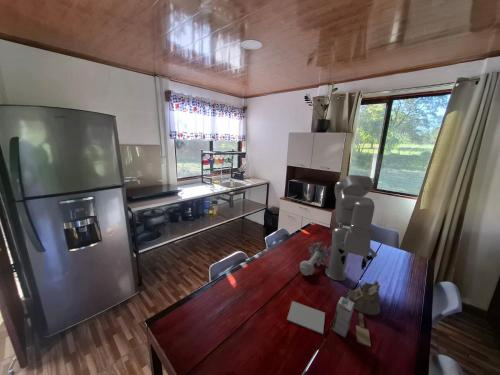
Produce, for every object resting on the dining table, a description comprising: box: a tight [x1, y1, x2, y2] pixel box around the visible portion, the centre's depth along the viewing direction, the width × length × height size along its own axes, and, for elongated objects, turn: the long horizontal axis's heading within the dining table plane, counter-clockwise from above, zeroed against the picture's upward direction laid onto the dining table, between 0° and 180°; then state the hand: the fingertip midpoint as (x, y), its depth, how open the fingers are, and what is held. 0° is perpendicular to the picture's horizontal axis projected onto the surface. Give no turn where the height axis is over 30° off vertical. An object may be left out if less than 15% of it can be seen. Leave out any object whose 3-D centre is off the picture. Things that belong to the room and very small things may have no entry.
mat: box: [286, 300, 326, 335], centre depth 96 cm, size 12×16×1 cm
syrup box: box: [331, 296, 355, 338], centre depth 89 cm, size 6×6×14 cm
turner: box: [355, 312, 372, 348], centre depth 92 cm, size 16×5×1 cm, turn 156°
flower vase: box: [299, 241, 329, 277], centre depth 133 cm, size 13×18×25 cm
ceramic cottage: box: [346, 280, 381, 316], centre depth 106 cm, size 16×16×15 cm
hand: (352, 265), depth 92 cm, fingers open, 7 cm apart
